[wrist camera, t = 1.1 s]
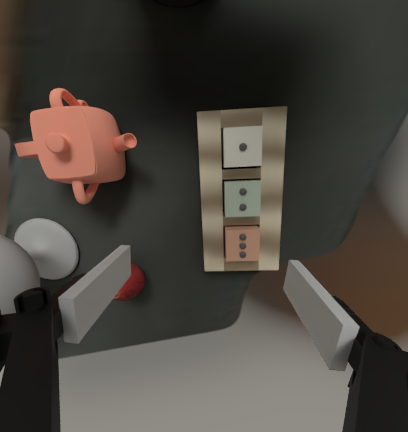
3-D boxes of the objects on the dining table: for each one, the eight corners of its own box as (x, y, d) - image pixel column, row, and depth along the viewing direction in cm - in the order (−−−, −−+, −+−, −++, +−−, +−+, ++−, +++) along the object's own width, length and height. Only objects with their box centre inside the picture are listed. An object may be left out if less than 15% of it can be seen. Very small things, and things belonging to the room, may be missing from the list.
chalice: (89, 284, 37) (7, 360, 22) (19, 280, 37) (-106, 352, 22) (80, 214, 33) (-24, 248, 19) (3, 210, 34) (-155, 241, 19)
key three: (224, 224, 31) (225, 230, 28) (255, 223, 31) (260, 229, 27) (224, 253, 32) (226, 261, 29) (254, 252, 32) (259, 261, 29)
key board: (198, 117, 29) (196, 111, 26) (279, 112, 28) (287, 106, 25) (205, 262, 34) (204, 271, 31) (272, 261, 34) (278, 270, 31)
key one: (222, 132, 28) (223, 127, 24) (257, 130, 27) (263, 125, 24) (223, 167, 29) (224, 167, 26) (256, 166, 28) (261, 165, 25)
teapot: (154, 146, 30) (128, 136, 21) (111, 200, 32) (69, 213, 23) (95, 91, 28) (38, 52, 19) (54, 152, 31) (-15, 145, 21)
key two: (223, 181, 29) (224, 182, 26) (256, 179, 29) (261, 180, 26) (224, 212, 30) (225, 217, 27) (255, 211, 30) (260, 216, 27)
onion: (156, 267, 35) (140, 295, 27) (139, 288, 36) (120, 321, 28) (129, 249, 34) (105, 272, 27) (114, 271, 36) (86, 300, 28)
